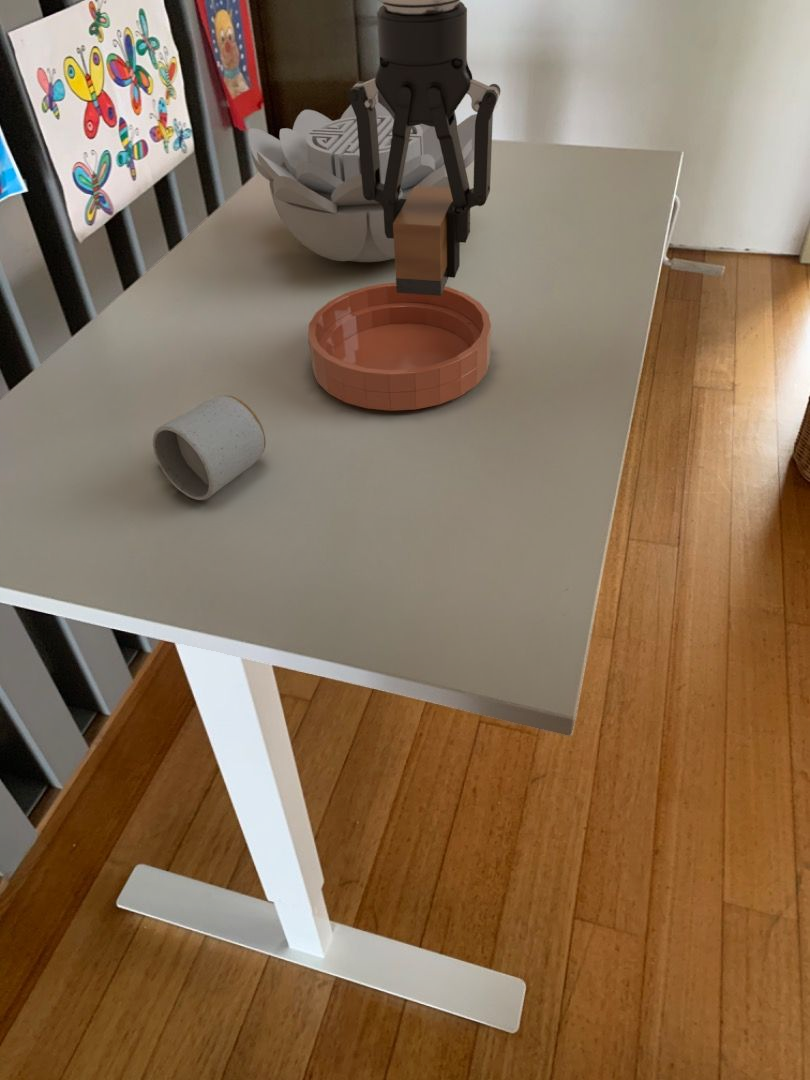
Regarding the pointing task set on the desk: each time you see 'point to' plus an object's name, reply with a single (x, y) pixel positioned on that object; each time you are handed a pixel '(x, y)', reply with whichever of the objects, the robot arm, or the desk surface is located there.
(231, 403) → the ceramic mug
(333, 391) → the terracotta bowl
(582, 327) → the desk surface
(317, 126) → the decorative bowl
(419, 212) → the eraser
